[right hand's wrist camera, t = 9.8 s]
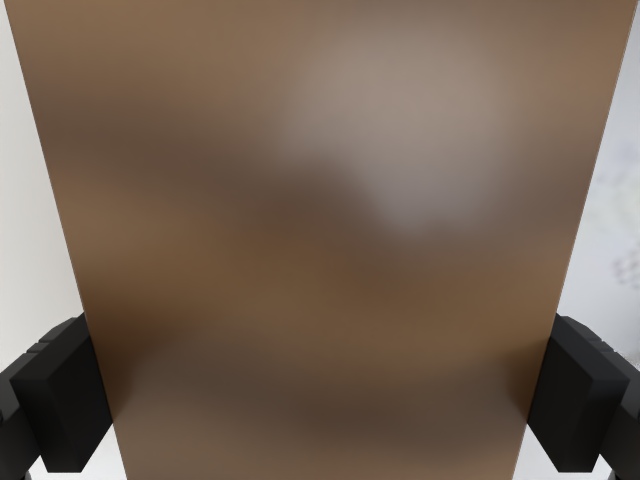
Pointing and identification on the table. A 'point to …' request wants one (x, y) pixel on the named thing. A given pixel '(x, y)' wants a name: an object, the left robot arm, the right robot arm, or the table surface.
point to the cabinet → (320, 220)
